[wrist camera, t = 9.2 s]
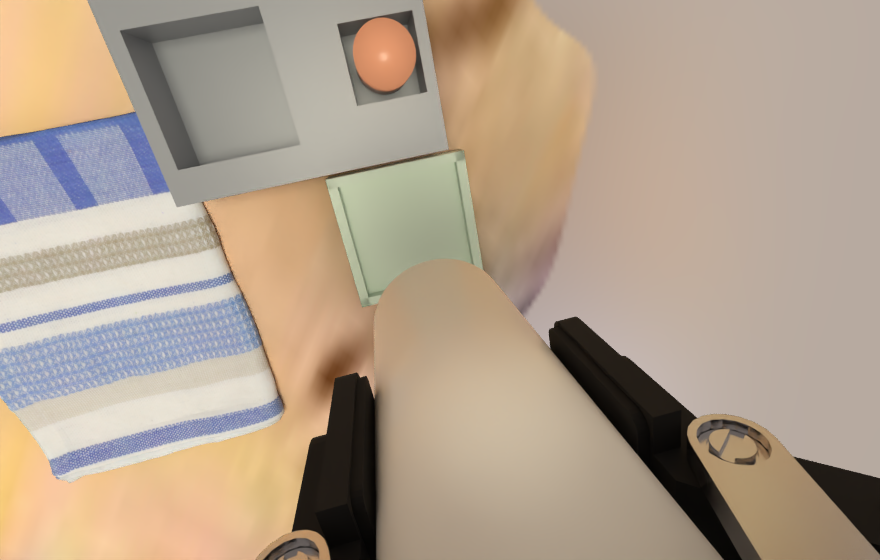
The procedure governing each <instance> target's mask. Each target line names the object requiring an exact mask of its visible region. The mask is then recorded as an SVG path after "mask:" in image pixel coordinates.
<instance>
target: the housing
mask: <svg viewBox="0 0 880 560" xmlns="http://www.w3.org/2000/svg"><path fill="white" fill-rule="evenodd" d="M87 1H88V3H89V5H90V8H91V10H92V12H93V15H94V17H95V19H96V22H97V24H98V26H99V29H100V31H101V33H102V36H103V38H104V40H105V42H106V45H107V47H108V49H109V52H110V54H111V56H112V59H113V61H114V63H115V66H116V68H117V70H118V73H119V75H120V77H121V79H122V82H123V84H124V86H125V89H126V91H127V93H128V96H129V98H130V100H131V103H132V105H133V107H134V110H135V112H136V114H137V116H138V119H139V121H140V123H141V126H142V128H143V130H144V133H145V135H146V137H147V140H148V142H149V144H150V147H151V149H152V151H153V153H154V156H155V158H156V160H157V163H158V165H159V167H160V170H161V172H162V174H163V177H164V179H165V181H166V183H167V186H168V188H169V190H170V193H171V195H172V197H173V200H174V202H175V204H176V207H181V206H186V205H190V204H195V203H200V202H204V201H209V200H214V199H219V198H223V197H228V196H233V195H237V194H242V193H247V192H251V191H256V190H261V189H265V188H270V187H275V186H279V185H284V184H289V183H294V182H298V181H303V180H308V179H312V178H317V177H322V176H326V175H331V174H336V173H340V172H345V171H350V170H354V169H359V168H364V167H369V166H373V165H378V164H383V163H387V162H392V161H397V160H401V159H406V158H411V157H415V156H420V155H425V154H429V153H434V152H439V151H444V150H448V149H449V148H448V142H447V137H446V131H445V125H444V120H443V114H442V108H441V102H440V97H439V91H438V85H437V80H436V74H435V68H434V63H433V57H432V51H431V46H430V40H429V34H428V28H427V23H426V17H425V11H424V6H423V0H87ZM375 18H390V19H393V20H395V21H397V22H399V23H400V24H402V25H403V26H404V27H405V28H406V29H407V30H408V32H409V33H410V35H411V37H412V39H413V41H414V44H415V48H416V63H415V67H414V69H413V72H412V74H411V75H410V77H409V78H408V80H407V81H406V82H405V84H404V85H403V86H402V88H400V89H399V90H398V91H396V92H395V93H392V94H388V95H381V94H377V93H374V92H372V91H370V90H369V89H368V88H366V87H365V86H364V84H363V83H362V82H361V80H360V78H359V76H358V74H357V70H356V66H355V62H354V57H353V44H354V39H355V37H356V34H357V32H358V31H359V29H360V28H361V27H362V26H363V25H364V24H365V23H367V22H368V21H370V20H372V19H375Z"/></svg>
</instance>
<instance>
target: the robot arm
mask: <svg viewBox="0 0 880 560" xmlns="http://www.w3.org/2000/svg"><path fill="white" fill-rule="evenodd" d="M549 340H550V349H551V350H552V352H553V353H554V354H555V355H556V356H557V358H558V359H559V360H560V361H561V363H562V364H563V365H564V366H565V367H566V369H567V370H568V371H569V372H570V374H571V375H572V376H573V377H574V378H575V380H576V381H577V382H578V383H579V384H580V386H581V387H582V388H583V389H584V391H585V392H586V393H587V394H588V395H589V397H590V398H591V399H592V400H593V401H594V403H595V404H596V405H597V406H598V408H599V409H600V410H601V411H602V412H603V414H604V415H605V416H606V417H607V418H608V420H609V421H610V422H611V423H612V425H613V426H614V427H615V428H616V429H617V431H618V432H619V433H620V434H621V436H622V437H623V438H624V439H625V440H626V442H627V443H628V444H629V445H630V446H631V448H632V449H633V450H634V451H635V453H636V454H637V455H638V456H639V457H640V459H641V460H642V461H643V462H644V463H645V465H646V466H647V467H648V468H649V470H650V471H651V472H652V473H653V474H654V476H655V477H656V478H657V479H658V480H659V482H660V483H661V484H662V485H663V487H664V488H665V489H666V490H667V491H668V493H669V494H670V495H671V496H672V498H673V499H674V500H675V501H676V502H677V504H678V505H679V506H680V507H681V508H682V510H683V511H684V512H685V513H686V515H687V516H688V517H689V518H690V519H691V521H692V522H693V523H694V524H695V525H696V527H697V528H698V529H699V530H700V532H701V533H702V534H703V535H704V536H705V538H706V539H707V540H708V541H709V543H710V544H711V545H712V546H713V547H714V549H715V550H716V551H717V552H718V553H719V555H720V556H721V557H722V558H723V560H880V478H876V477H873V476H868V475H864V474H861V473H857V472H853V471H849V470H845V469H841V468H837V467H833V466H829V465H824V464H821V463H817V462H813V461H808V460H805V459H801V458H796V457H793V456H792V455H791V454H790V453H789V452H788V451H787V449H786V448H785V447H784V446H783V445H782V444H781V443H780V441H778V439H777V438H776V437H775V436H774V435H773V434H771V433H770V432H769V431H768V430H767V429H765V428H764V427H762V426H760V425H758V424H756V423H755V422H752V421H750V420H747V419H744V418H741V417H737V416H732V415H727V414H710V415H705V416H701V417H699V418H696V417H695V416H694V415H693V414H692V413H691V412H690V411H689V410H687V409H686V408H685V407H684V406H683V405H682V404H681V403H679V402H678V401H677V400H676V399H675V398H674V397H673V396H671V395H670V394H669V393H668V392H667V391H666V390H665V389H663V388H662V387H661V386H660V385H659V384H658V383H657V382H655V381H654V380H653V379H652V378H651V377H650V376H649V375H647V374H646V373H645V372H644V371H643V370H642V369H641V368H639V367H638V366H637V365H636V364H635V363H634V362H632V361H631V360H630V359H629V358H627V357H626V356H621V355H620V354H618V353H617V352H616V351H615V350H614V349H613V348H612V347H611V346H609V345H608V344H607V343H606V342H605V341H604V340H603V339H602V338H600V337H599V336H598V335H597V334H596V333H595V332H594V331H593V330H592V329H590V328H589V327H588V326H587V325H586V324H585V323H584V322H583V321H581V320H580V319H579V318H578V317H572V318H568V319H564V320H560V321H556V322H555V324H554V328H551V329H550V330H549ZM256 560H376V490H375V400H374V397H373V394H372V390H371V387H370V384H369V381H368V378H367V376H364V377H361V378H360V377H359V375H358V373H353V374H350V375H346V376H342V377H338V378H335V382H334V389H333V396H332V402H331V409H330V415H329V422H328V428H327V434H326V435H322V436H318V437H315V438H313V439H312V440H311V442H310V445H309V450H308V455H307V460H306V465H305V470H304V475H303V480H302V485H301V490H300V494H299V499H298V504H297V509H296V514H295V519H294V524H293V529H292V532H291V533H289V534H286V535H283V536H282V537H280V538H279V539H277V540H276V541H274V542H272V543H271V544H270V545H269V546H268V547H267V548H266V549H264V550H263V551H262V552H261V553H260V554H259V556H258V557H257V558H256Z"/></svg>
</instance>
